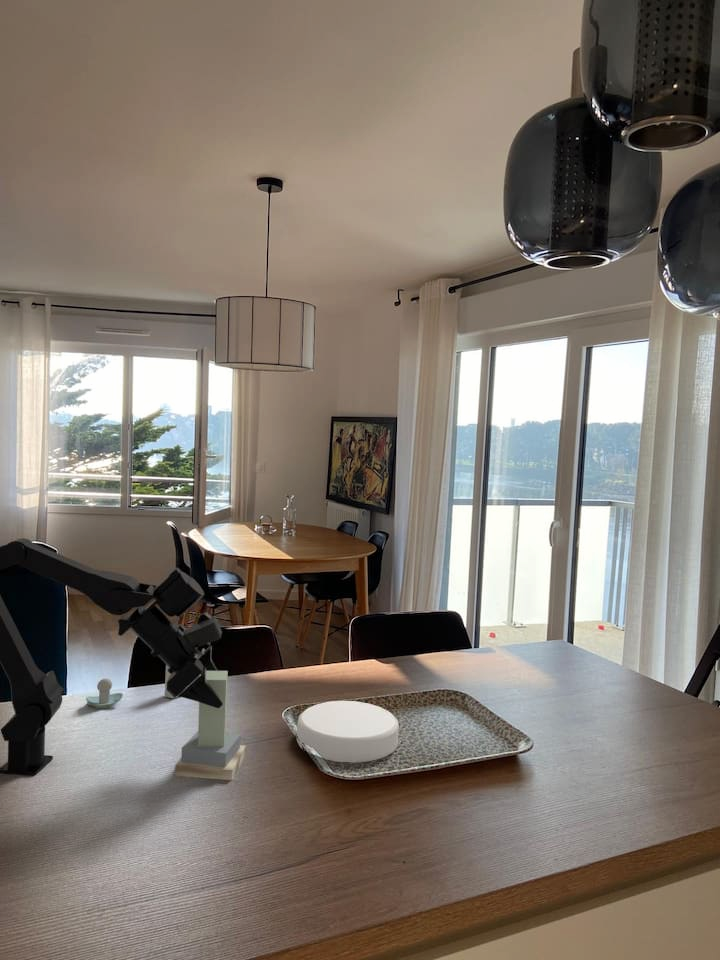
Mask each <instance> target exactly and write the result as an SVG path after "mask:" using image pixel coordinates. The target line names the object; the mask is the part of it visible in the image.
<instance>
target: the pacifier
mask: <svg viewBox="0 0 720 960" xmlns="http://www.w3.org/2000/svg"><path fill="white" fill-rule="evenodd" d="M96 685H97V686H96V687H97V690H98V696H96V695H95V696H93V695H92V696H86V697H85V698H86V699H85V700H86V705H87V706H90V707H94V708H96V709H107V708H111V707H112V706H113V705H115V704H117V703H119V702H120V701H121V700H122V698H123V696H124V695H123V693H121V692H117V693H113V694H111V693H110V692H111V690H112V687H113V681H112V680H111V679H110V678H102V679H101V680H100V681H98V682H97V684H96Z"/></svg>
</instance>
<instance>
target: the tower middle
mask: <svg viewBox="0 0 720 960" xmlns="http://www.w3.org/2000/svg"><path fill="white" fill-rule="evenodd" d="M241 736H242V735H241V734H239V733H230V732H226V735H225V742H224V746H209V747H198V730H197V731H196V732H195V733H194V735H193V736H191V737H190V739H189V740H187V742H186V743H185V744H184V745H183V746H182V747H181V756H180V758H181V762H186V763H194V764H202V765H210V766H218V767H226V766H227V765H228V763H229V762H230V761H231V759H232V758H233V757H234V755H235V754H236V753H237V751H238V750H239V749H240V745H241V738H242V737H241Z"/></svg>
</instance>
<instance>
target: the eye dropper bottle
mask: <svg viewBox="0 0 720 960" xmlns="http://www.w3.org/2000/svg"><path fill="white" fill-rule="evenodd" d="M168 668H169V667H168V666H167V665H166V664H165V675H164V676H165V678H164V679H165V680H164V682H165V683H164V697H165V698H168V699H177V698H179V697H178V696H177V697H175V698H174V697H173V696H172V695H171V694H170V693H169V692H168V691H167V681H168V678H169V676H170V675H171V674H170V673H169V672H168V671H167V670H168Z"/></svg>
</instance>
